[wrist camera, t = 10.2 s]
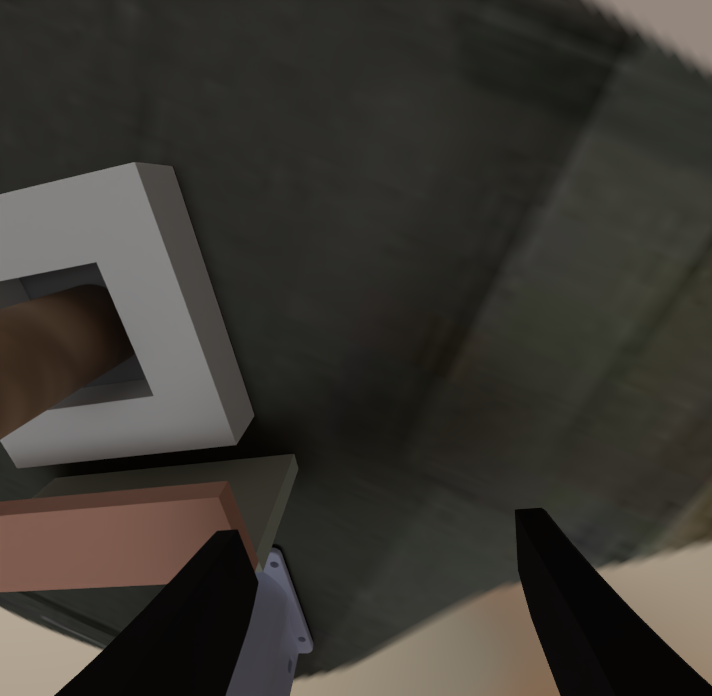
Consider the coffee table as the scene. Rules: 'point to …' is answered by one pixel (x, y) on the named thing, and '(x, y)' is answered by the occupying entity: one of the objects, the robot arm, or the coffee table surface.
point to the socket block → (125, 317)
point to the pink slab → (139, 522)
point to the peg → (56, 350)
